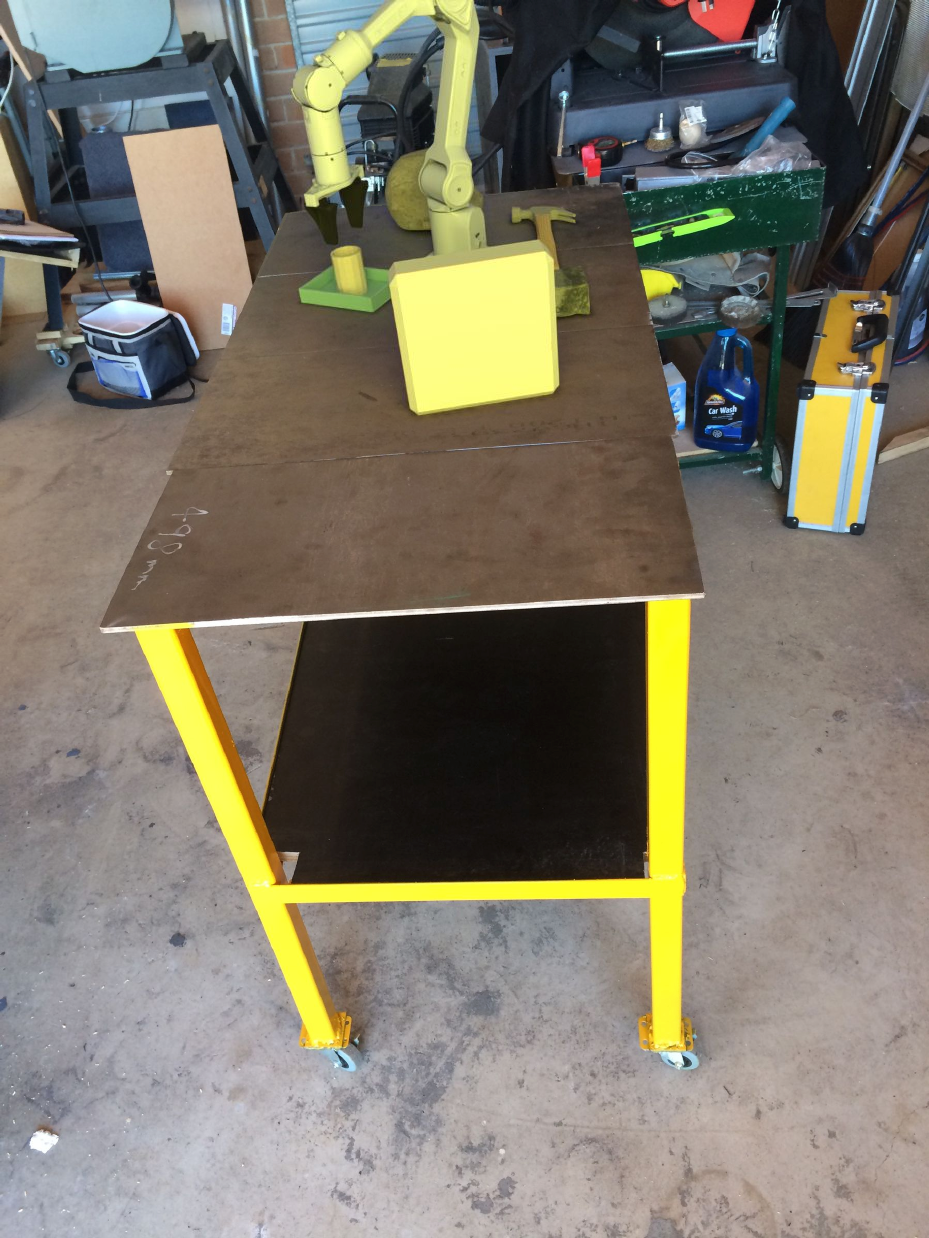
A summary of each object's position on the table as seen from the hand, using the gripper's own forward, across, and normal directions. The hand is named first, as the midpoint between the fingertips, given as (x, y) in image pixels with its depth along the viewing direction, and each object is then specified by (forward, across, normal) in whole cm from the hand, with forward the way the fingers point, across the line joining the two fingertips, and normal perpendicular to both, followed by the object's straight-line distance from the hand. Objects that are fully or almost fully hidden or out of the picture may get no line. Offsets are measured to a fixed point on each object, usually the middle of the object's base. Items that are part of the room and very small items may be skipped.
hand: (344, 235), depth 160 cm
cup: (+9, +2, +1) cm, 9 cm away
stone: (+10, -29, 0) cm, 30 cm away
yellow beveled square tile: (+10, +27, +40) cm, 49 cm away
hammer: (+10, -26, +26) cm, 38 cm away
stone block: (+10, -1, +36) cm, 37 cm away
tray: (+9, +2, +1) cm, 10 cm away
